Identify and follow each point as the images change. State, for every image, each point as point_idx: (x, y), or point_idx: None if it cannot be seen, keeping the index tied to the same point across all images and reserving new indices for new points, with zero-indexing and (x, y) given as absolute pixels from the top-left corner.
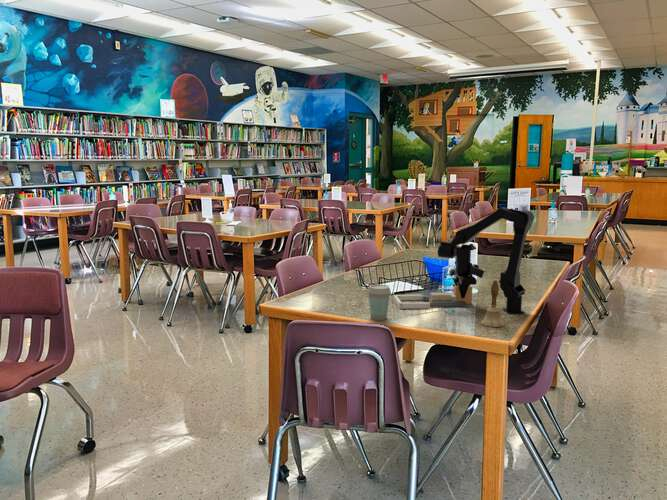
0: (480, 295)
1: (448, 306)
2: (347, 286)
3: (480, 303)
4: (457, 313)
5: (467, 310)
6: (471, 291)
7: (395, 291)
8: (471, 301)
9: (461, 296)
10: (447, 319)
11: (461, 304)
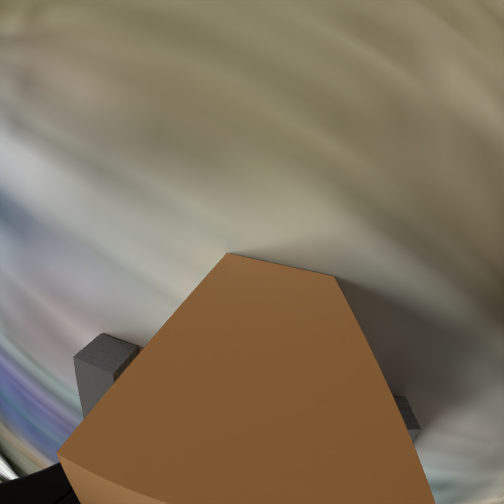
0: (31, 22)
1: None
2: None
3: (346, 135)
4: (485, 470)
5: (492, 411)
6: (380, 412)
7: (3, 463)
8: (337, 291)
9: None
10: (498, 498)
11: None
